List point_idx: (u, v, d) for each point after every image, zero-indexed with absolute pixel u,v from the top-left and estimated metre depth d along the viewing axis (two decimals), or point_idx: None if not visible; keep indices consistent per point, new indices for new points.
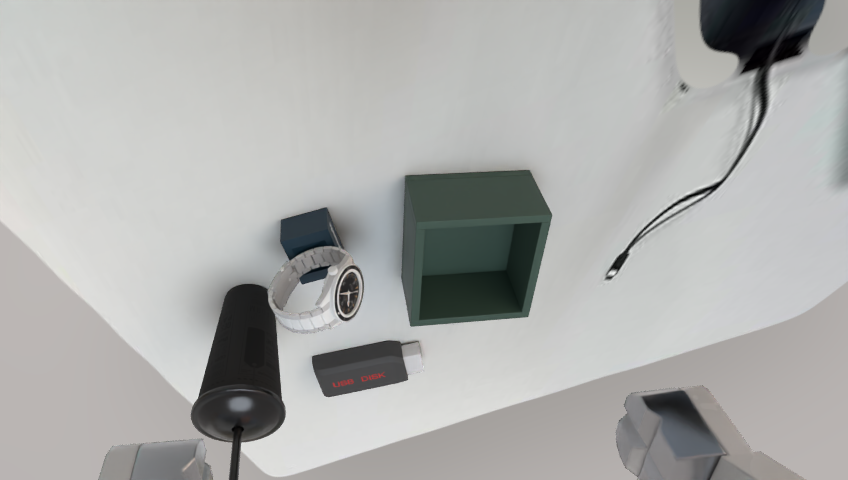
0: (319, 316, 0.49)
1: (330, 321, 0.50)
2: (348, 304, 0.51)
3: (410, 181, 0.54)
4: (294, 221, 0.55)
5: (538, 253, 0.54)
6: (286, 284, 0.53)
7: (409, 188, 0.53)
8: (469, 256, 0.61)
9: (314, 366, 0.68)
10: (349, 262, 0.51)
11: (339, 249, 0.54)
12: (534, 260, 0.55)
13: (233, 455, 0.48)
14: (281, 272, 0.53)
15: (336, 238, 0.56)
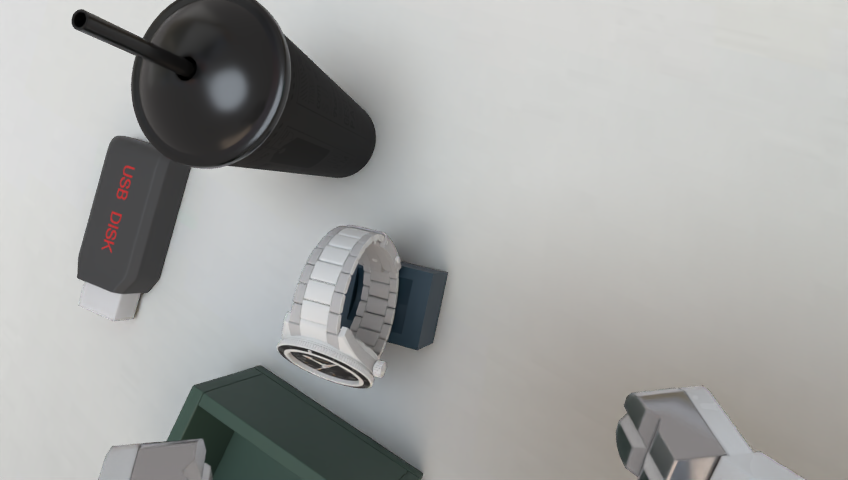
0: (323, 322, 0.27)
1: (300, 328, 0.27)
2: (306, 356, 0.29)
3: None
4: (440, 293, 0.36)
5: None
6: (372, 254, 0.32)
7: None
8: None
9: None
10: None
11: (380, 353, 0.33)
12: None
13: (147, 47, 0.22)
14: (395, 258, 0.32)
15: None
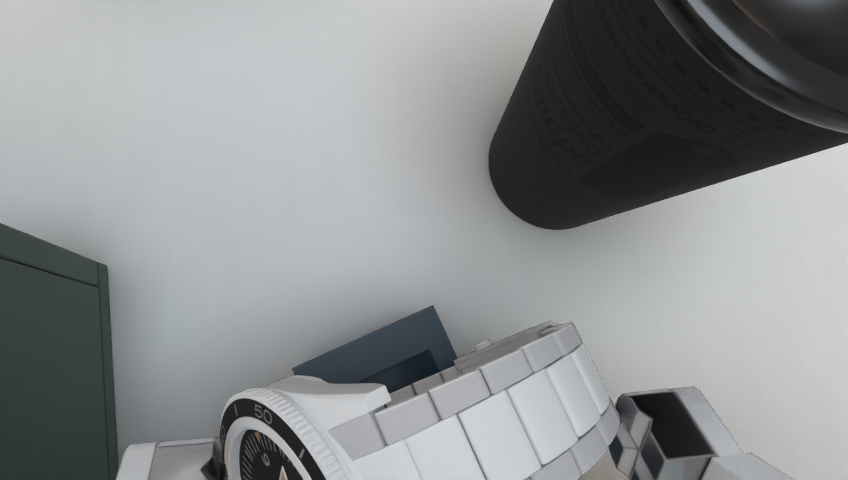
0: None
1: (375, 454, 0.09)
2: (283, 472, 0.11)
3: None
4: None
5: None
6: None
7: None
8: None
9: None
10: None
11: None
12: None
13: None
14: None
15: None
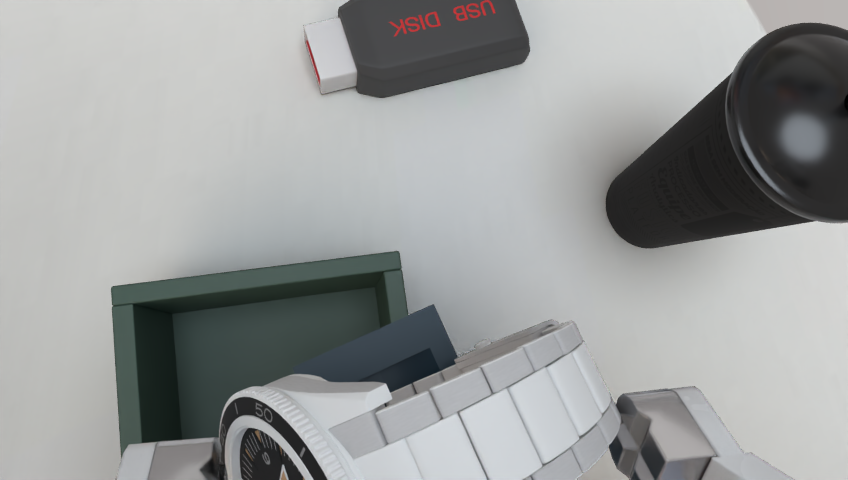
0: None
1: (376, 453, 0.09)
2: (284, 471, 0.11)
3: None
4: None
5: None
6: None
7: None
8: (261, 346, 0.30)
9: (527, 51, 0.35)
10: None
11: None
12: None
13: None
14: None
15: None
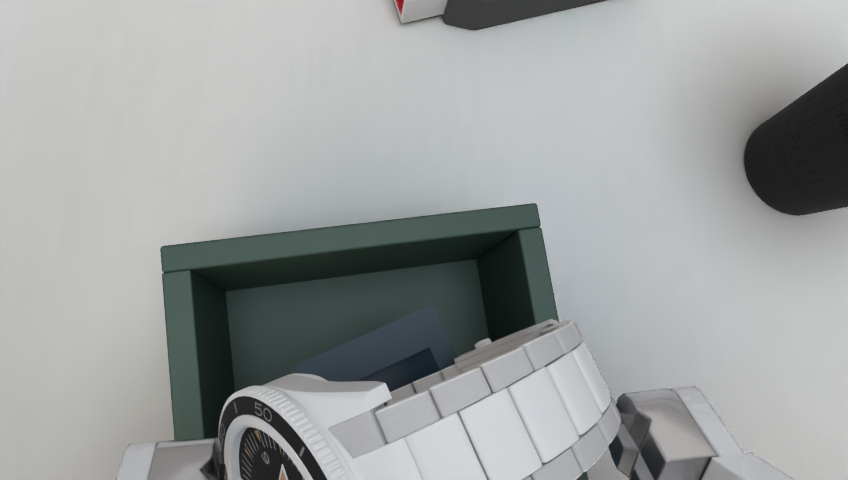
0: None
1: (375, 452, 0.09)
2: (283, 470, 0.11)
3: None
4: None
5: None
6: None
7: None
8: (338, 333, 0.24)
9: None
10: None
11: None
12: None
13: None
14: None
15: None
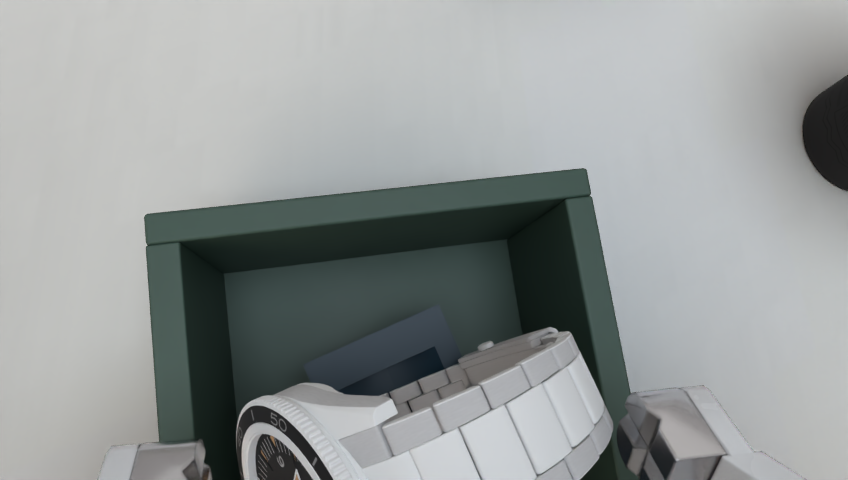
0: None
1: (382, 464, 0.10)
2: (297, 475, 0.11)
3: None
4: None
5: None
6: None
7: None
8: (351, 321, 0.21)
9: None
10: None
11: None
12: None
13: None
14: None
15: None
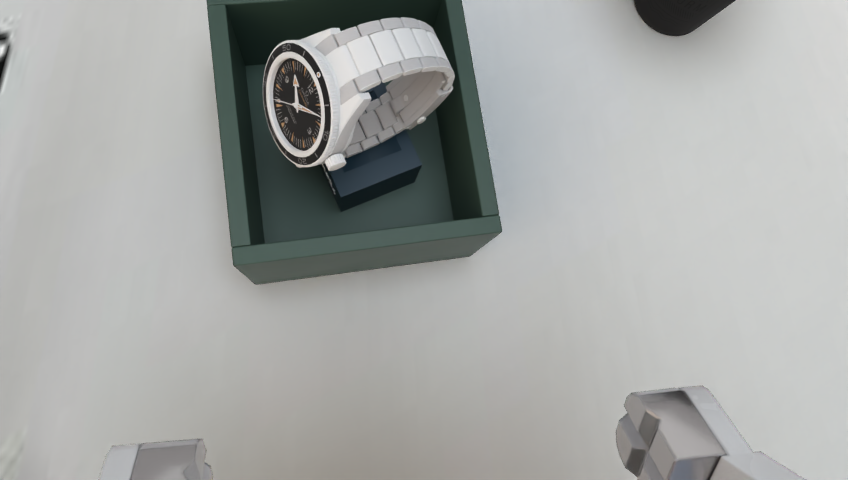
0: (360, 70, 0.22)
1: (334, 51, 0.23)
2: (295, 79, 0.24)
3: (467, 253, 0.33)
4: (394, 187, 0.32)
5: (234, 165, 0.26)
6: (412, 91, 0.28)
7: (476, 250, 0.32)
8: None
9: None
10: None
11: None
12: (237, 146, 0.26)
13: None
14: (422, 116, 0.28)
15: None
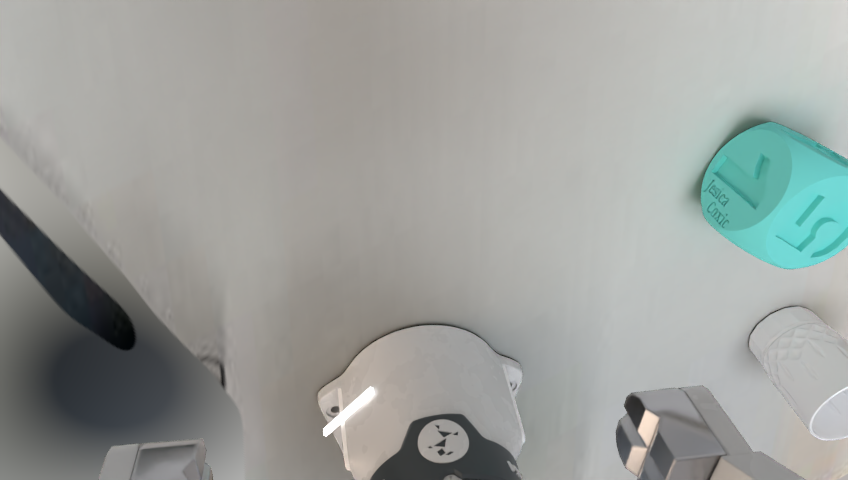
0: None
1: None
2: None
3: None
4: None
5: None
6: None
7: None
8: None
9: None
10: None
11: None
12: None
13: None
14: None
15: None
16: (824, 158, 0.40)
